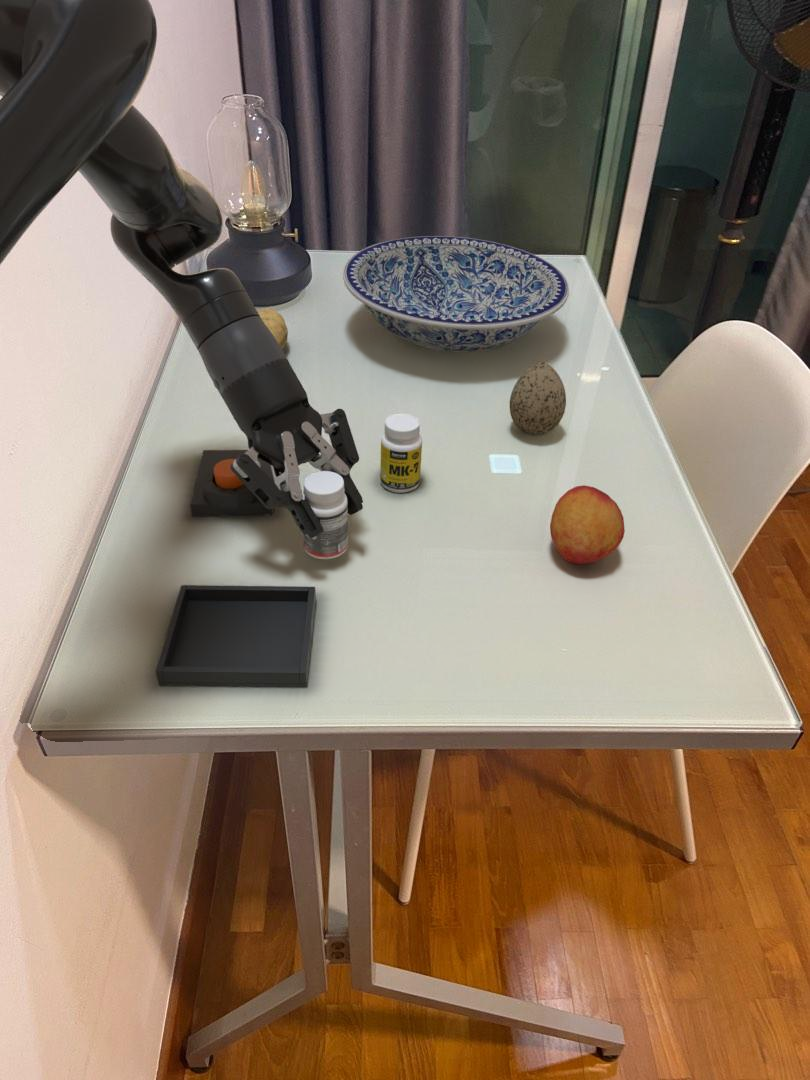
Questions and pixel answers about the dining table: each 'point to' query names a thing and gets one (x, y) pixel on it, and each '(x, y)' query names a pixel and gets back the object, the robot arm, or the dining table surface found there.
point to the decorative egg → (538, 400)
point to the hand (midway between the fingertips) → (337, 522)
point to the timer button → (226, 475)
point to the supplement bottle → (401, 453)
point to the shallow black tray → (239, 636)
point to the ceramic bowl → (455, 290)
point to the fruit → (586, 525)
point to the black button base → (220, 500)
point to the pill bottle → (327, 514)
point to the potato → (275, 325)
